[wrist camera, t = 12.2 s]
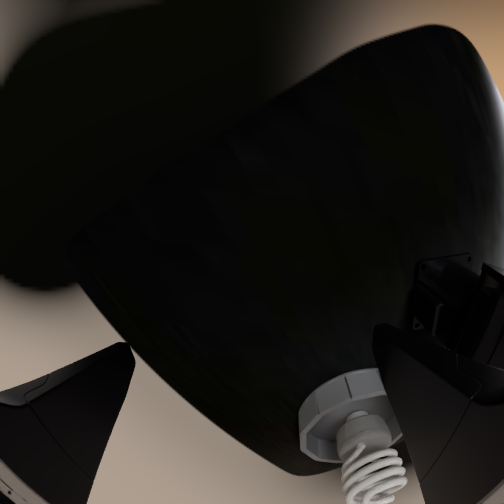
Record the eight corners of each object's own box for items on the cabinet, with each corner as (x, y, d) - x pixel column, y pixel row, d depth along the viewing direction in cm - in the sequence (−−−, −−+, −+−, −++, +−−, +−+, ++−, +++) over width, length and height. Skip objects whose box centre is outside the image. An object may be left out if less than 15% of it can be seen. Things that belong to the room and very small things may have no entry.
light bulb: (388, 408, 23) (420, 493, 12) (347, 434, 25) (364, 519, 13) (365, 386, 23) (399, 486, 11) (319, 415, 24) (332, 514, 12)
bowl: (414, 357, 22) (428, 378, 19) (393, 428, 25) (401, 448, 22) (296, 378, 23) (299, 404, 20) (299, 446, 26) (300, 468, 23)
